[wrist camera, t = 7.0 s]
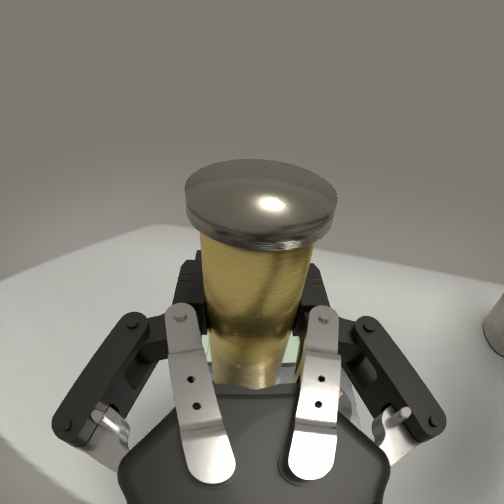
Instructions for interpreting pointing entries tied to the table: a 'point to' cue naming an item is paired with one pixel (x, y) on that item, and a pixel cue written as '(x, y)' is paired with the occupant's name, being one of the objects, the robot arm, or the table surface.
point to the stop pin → (255, 259)
